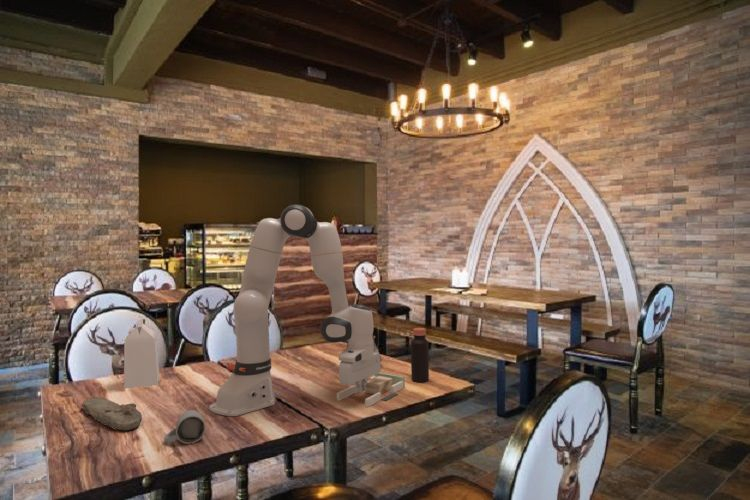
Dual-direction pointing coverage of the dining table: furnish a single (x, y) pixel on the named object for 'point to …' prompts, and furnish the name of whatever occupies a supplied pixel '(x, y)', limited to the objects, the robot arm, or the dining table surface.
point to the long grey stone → (113, 413)
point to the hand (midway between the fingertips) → (361, 391)
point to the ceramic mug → (187, 428)
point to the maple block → (379, 385)
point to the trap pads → (389, 396)
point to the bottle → (419, 356)
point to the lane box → (397, 385)
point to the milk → (140, 357)
